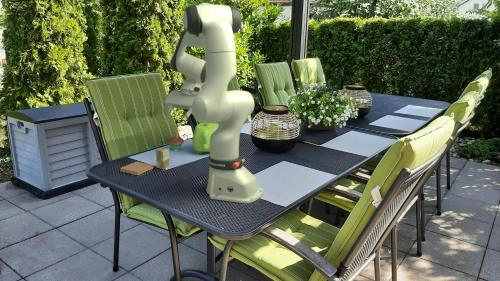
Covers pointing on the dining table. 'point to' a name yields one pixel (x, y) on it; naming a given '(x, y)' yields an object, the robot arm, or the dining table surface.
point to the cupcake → (175, 142)
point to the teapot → (203, 136)
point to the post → (162, 158)
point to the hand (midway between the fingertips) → (177, 115)
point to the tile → (137, 168)
